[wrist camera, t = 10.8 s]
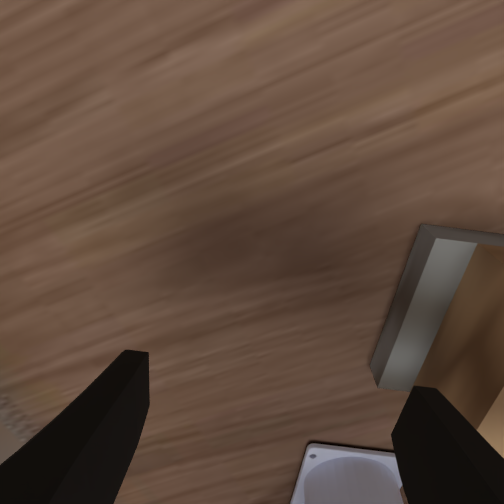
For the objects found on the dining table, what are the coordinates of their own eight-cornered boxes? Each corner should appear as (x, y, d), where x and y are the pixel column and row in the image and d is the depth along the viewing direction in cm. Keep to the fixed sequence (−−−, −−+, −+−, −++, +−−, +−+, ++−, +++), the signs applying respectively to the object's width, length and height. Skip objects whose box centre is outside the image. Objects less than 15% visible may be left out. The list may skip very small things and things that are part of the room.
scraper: (474, 376, 23) (551, 489, 17) (369, 363, 23) (406, 471, 16) (550, 239, 18) (695, 322, 12) (419, 222, 18) (497, 297, 12)
